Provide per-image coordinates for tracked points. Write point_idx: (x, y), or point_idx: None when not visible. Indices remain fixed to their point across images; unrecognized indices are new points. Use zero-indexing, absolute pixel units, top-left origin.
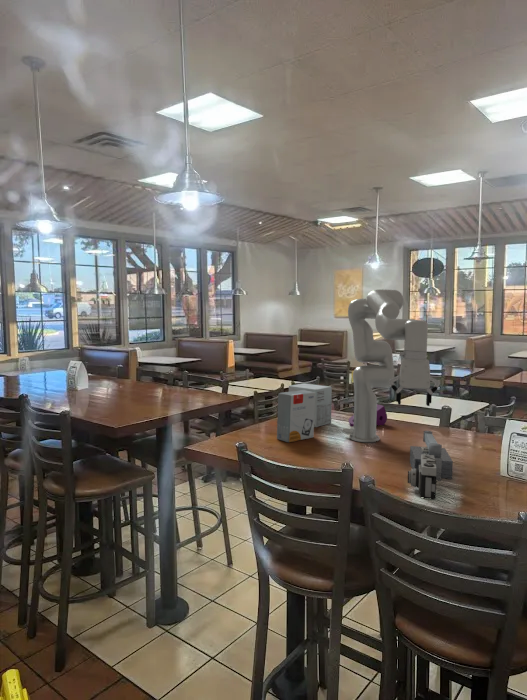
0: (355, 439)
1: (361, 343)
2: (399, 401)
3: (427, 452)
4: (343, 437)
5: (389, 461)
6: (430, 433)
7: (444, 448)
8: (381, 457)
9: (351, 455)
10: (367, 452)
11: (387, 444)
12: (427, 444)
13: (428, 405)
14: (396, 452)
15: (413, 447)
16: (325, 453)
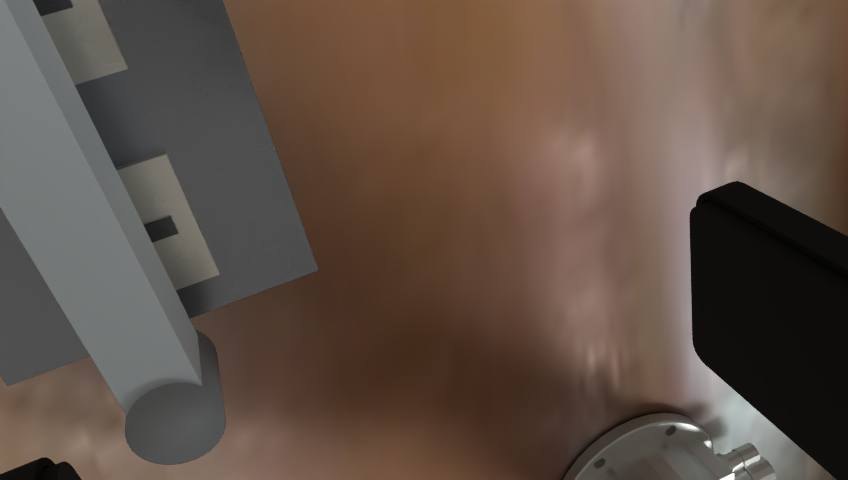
0: (680, 419)
1: None
2: (770, 211)
3: (110, 150)
4: (733, 436)
5: (430, 143)
6: (137, 400)
7: (6, 376)
8: (496, 202)
9: (679, 132)
10: (591, 254)
11: (498, 474)
12: (95, 141)
13: (24, 467)
14: (422, 364)
15: (282, 241)
16: (826, 82)
